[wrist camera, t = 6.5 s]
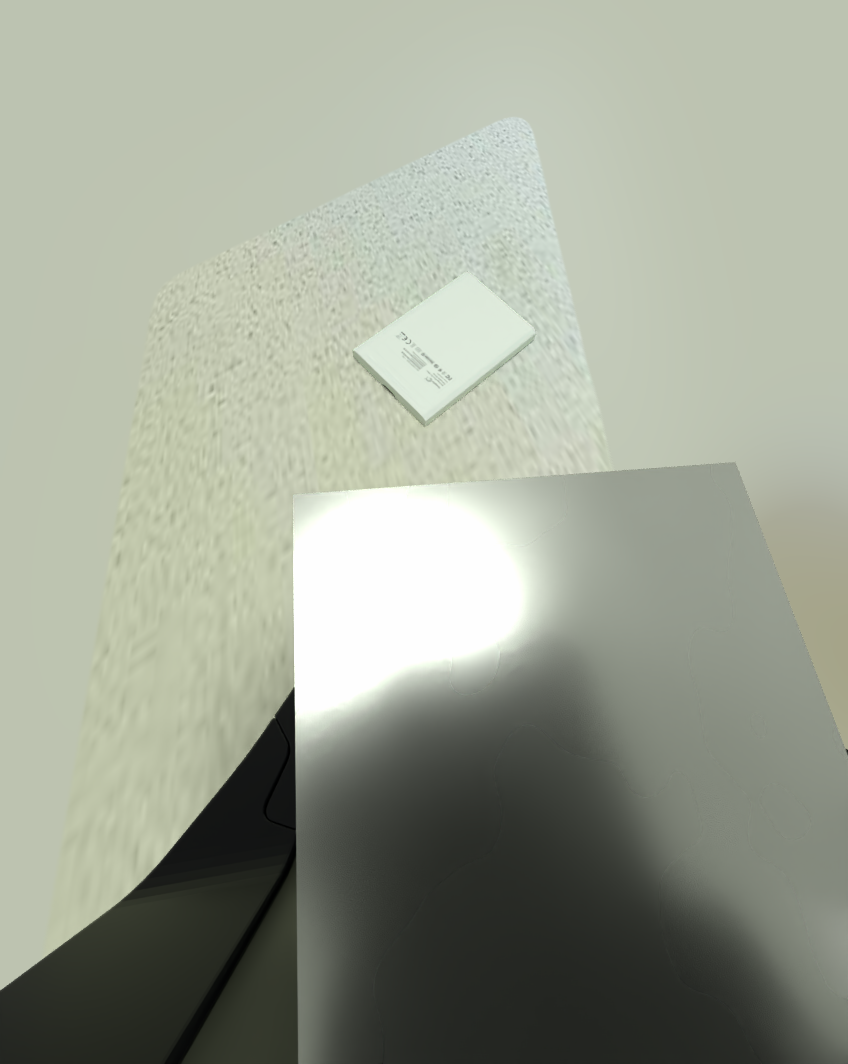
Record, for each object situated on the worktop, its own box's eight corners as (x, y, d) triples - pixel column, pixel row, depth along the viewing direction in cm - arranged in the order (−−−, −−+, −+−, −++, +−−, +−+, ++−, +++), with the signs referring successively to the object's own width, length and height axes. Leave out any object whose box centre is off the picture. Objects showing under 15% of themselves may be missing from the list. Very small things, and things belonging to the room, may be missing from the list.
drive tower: (494, 700, 15) (956, 1042, 3) (384, 715, 15) (300, 1225, 2) (478, 588, 16) (734, 461, 4) (375, 599, 16) (293, 493, 3)
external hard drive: (530, 346, 29) (424, 431, 26) (462, 286, 30) (353, 362, 27) (538, 330, 27) (426, 419, 25) (466, 268, 29) (351, 346, 26)
